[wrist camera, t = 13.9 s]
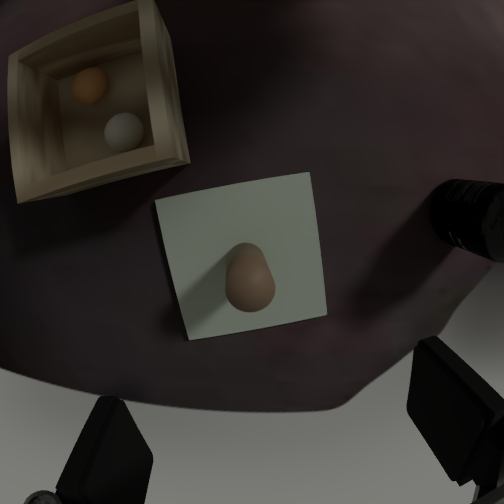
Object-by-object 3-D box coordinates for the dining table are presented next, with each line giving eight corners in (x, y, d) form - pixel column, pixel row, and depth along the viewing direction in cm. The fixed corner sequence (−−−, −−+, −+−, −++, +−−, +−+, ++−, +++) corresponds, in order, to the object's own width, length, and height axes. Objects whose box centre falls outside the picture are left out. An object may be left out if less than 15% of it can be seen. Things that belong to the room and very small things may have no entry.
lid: (158, 199, 26) (128, 208, 18) (305, 172, 27) (336, 170, 19) (190, 334, 29) (178, 384, 22) (323, 309, 30) (352, 352, 22)
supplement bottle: (428, 247, 29) (510, 284, 17) (425, 180, 27) (514, 188, 15) (473, 238, 29) (552, 267, 17) (472, 177, 27) (556, 186, 16)
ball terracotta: (80, 80, 22) (64, 70, 19) (112, 68, 22) (98, 57, 19) (83, 111, 23) (66, 105, 19) (115, 100, 23) (101, 91, 20)
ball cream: (110, 122, 23) (95, 115, 20) (145, 111, 23) (134, 103, 20) (115, 157, 24) (100, 155, 21) (150, 148, 24) (140, 144, 21)
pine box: (54, 78, 22) (8, 56, 15) (171, 38, 23) (152, -5, 15) (67, 195, 25) (17, 203, 17) (190, 163, 25) (173, 157, 18)
